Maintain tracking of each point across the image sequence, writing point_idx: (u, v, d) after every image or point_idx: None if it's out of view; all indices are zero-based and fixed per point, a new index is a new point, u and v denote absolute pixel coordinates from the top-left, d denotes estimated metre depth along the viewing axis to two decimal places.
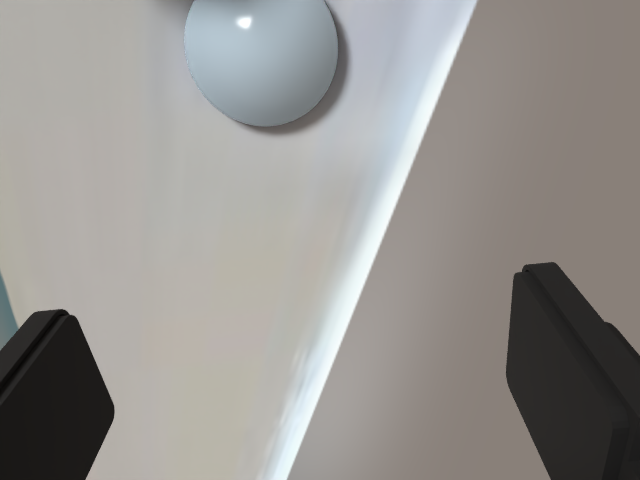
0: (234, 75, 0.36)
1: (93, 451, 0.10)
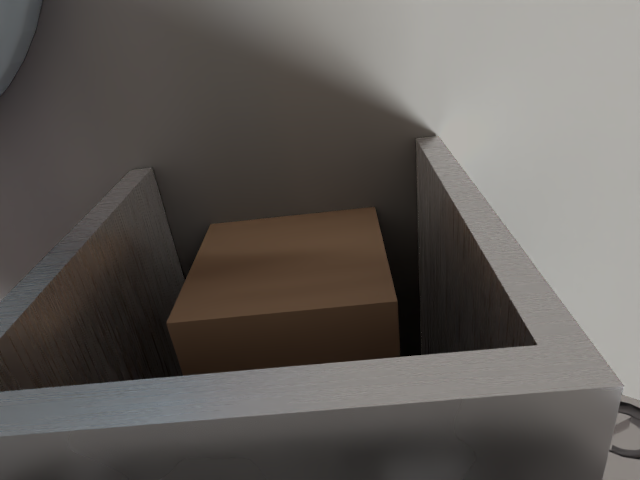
0: None
1: None
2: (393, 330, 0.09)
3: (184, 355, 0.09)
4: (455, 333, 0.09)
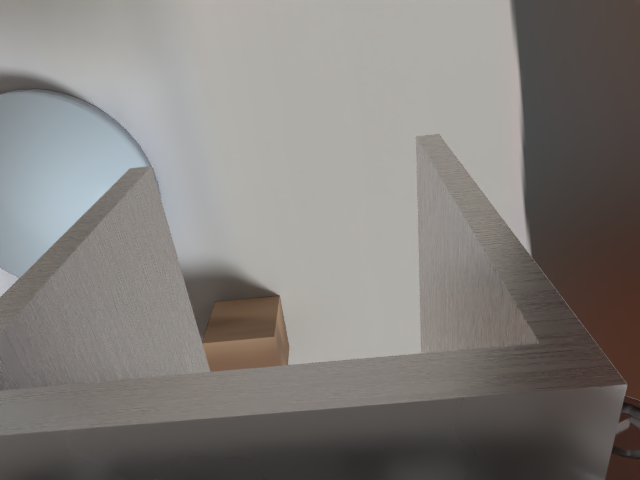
0: (67, 160, 0.25)
1: None
2: (274, 345, 0.27)
3: (207, 353, 0.27)
4: (456, 332, 0.09)
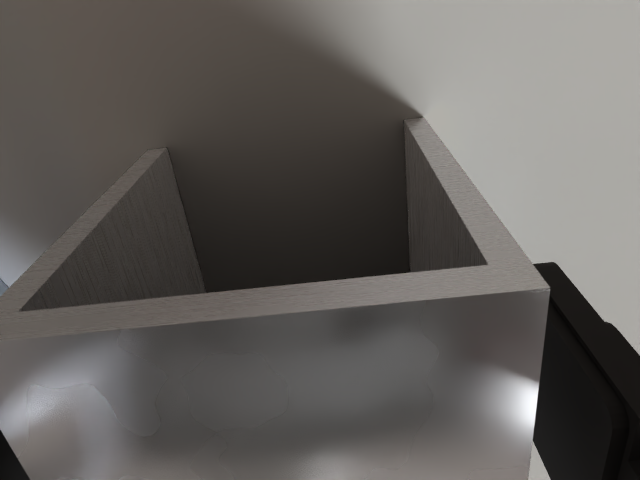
0: None
1: None
2: None
3: None
4: None
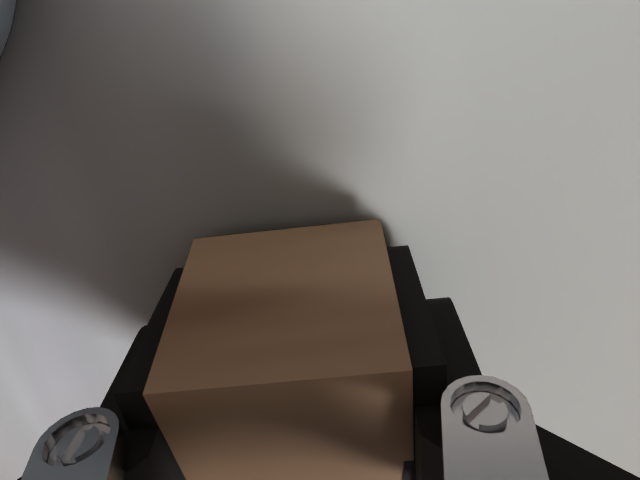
0: None
1: None
2: (406, 397, 0.07)
3: (166, 423, 0.08)
4: None
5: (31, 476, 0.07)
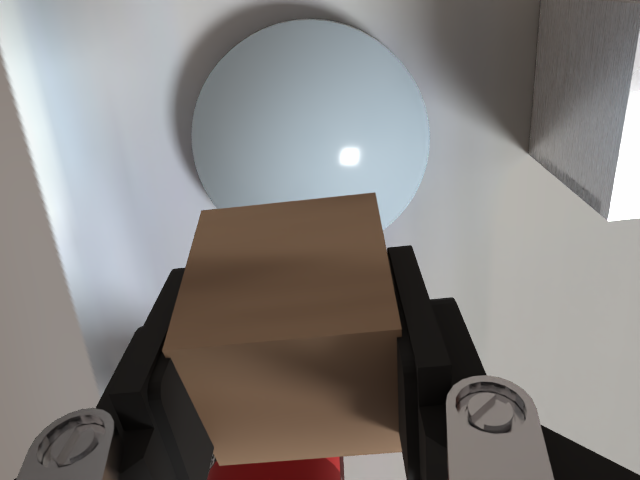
0: (344, 100, 0.22)
1: None
2: (396, 353, 0.08)
3: (183, 376, 0.09)
4: None
5: (26, 477, 0.07)
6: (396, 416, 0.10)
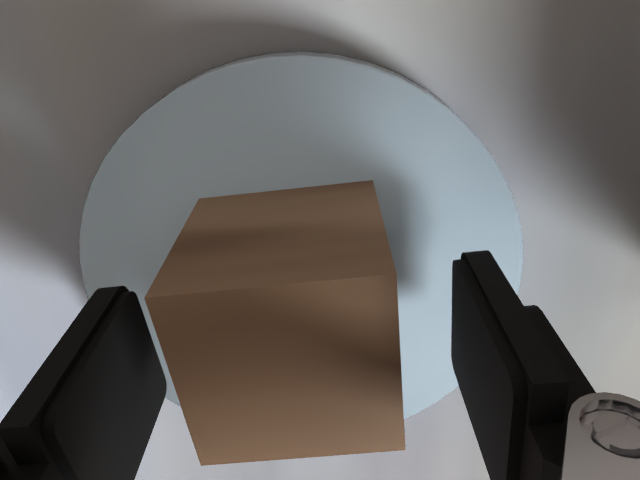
0: None
1: (151, 421, 0.11)
2: (392, 306, 0.08)
3: (165, 333, 0.08)
4: None
5: None
6: (395, 396, 0.09)
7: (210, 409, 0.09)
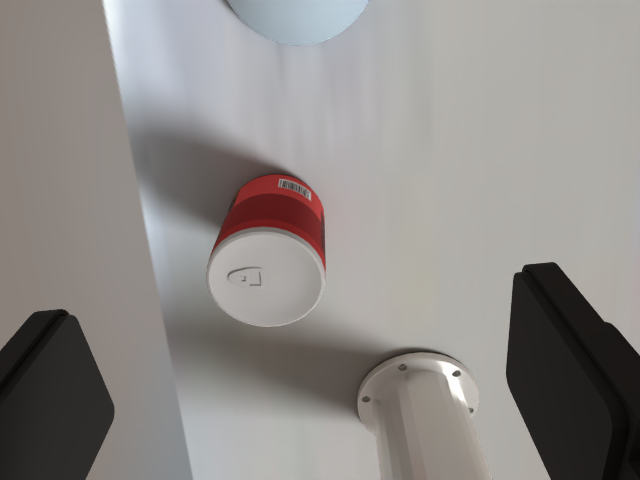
0: None
1: (93, 451, 0.10)
2: None
3: None
4: None
5: None
6: None
7: None
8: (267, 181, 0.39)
